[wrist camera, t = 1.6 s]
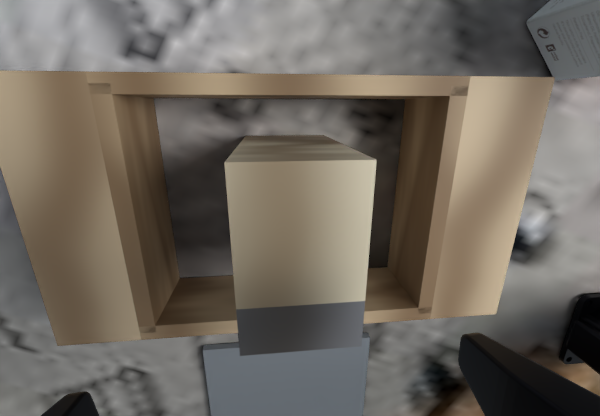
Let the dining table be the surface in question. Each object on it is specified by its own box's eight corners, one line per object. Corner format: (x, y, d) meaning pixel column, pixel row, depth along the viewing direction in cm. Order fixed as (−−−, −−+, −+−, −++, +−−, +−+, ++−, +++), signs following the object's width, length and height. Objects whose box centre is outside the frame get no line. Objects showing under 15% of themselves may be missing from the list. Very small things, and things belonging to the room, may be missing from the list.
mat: (367, 332, 22) (369, 337, 22) (358, 444, 26) (359, 450, 26) (204, 345, 21) (202, 350, 21) (218, 459, 25) (217, 466, 25)
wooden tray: (485, 84, 17) (555, 77, 13) (450, 273, 21) (496, 314, 17) (52, 81, 15) (-31, 70, 11) (104, 293, 19) (57, 345, 15)
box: (323, 135, 17) (376, 159, 9) (320, 243, 20) (361, 346, 11) (245, 135, 17) (224, 162, 9) (251, 246, 19) (240, 356, 11)
